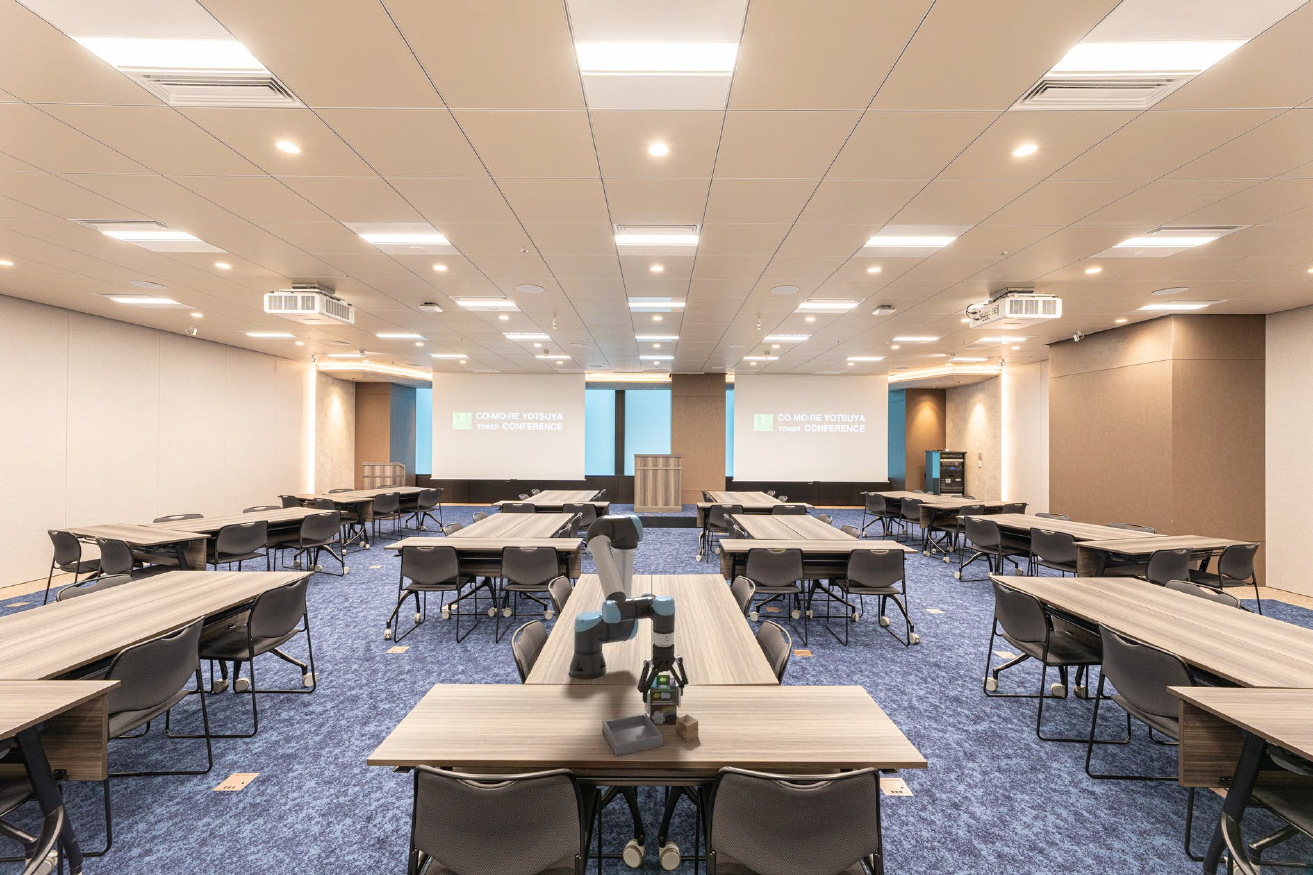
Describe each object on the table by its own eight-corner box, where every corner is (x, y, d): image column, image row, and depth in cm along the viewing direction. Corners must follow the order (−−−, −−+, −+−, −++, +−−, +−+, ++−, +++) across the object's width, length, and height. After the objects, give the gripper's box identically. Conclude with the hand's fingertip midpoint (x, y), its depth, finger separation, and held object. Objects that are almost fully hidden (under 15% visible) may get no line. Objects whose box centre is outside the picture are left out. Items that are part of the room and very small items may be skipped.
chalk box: (675, 710, 173) (675, 667, 174) (677, 724, 164) (677, 679, 165) (649, 710, 173) (649, 667, 173) (649, 724, 164) (650, 679, 164)
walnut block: (675, 735, 158) (676, 719, 158) (686, 730, 161) (687, 714, 161) (687, 742, 154) (687, 726, 154) (698, 736, 157) (698, 720, 157)
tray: (602, 730, 160) (602, 720, 160) (645, 721, 165) (645, 712, 166) (615, 756, 146) (616, 746, 146) (662, 746, 152) (662, 736, 152)
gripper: (635, 651, 162) (634, 720, 161) (698, 642, 170) (698, 707, 169) (628, 643, 169) (627, 709, 168) (689, 635, 177) (688, 697, 176)
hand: (662, 708), depth 168 cm, fingers closed on chalk box, 11 cm apart
